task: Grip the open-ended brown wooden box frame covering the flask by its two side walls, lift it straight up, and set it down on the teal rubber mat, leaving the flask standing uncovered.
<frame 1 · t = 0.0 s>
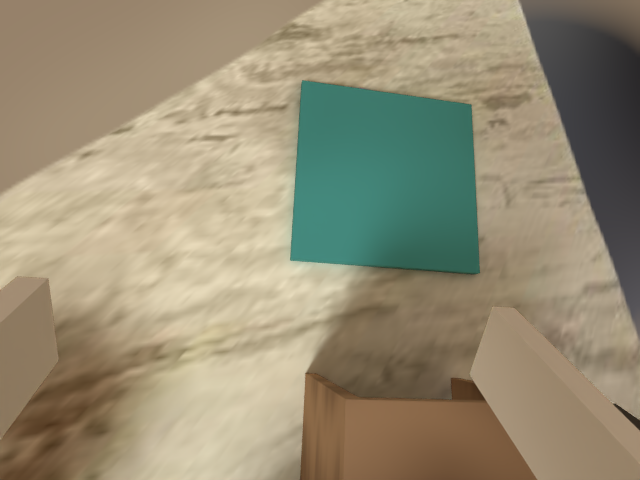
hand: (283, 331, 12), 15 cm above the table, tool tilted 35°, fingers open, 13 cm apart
mat: (386, 177, 31), on the table
brown wooden box frame: (384, 464, 26), on the table
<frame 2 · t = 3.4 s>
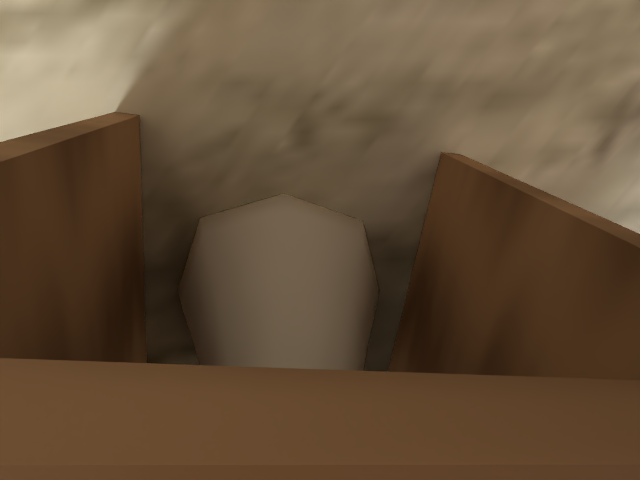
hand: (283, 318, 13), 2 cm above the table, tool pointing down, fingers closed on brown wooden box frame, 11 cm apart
flask: (281, 283, 15), on the table
brown wooden box frame: (281, 287, 15), on the table, touching gripper
when the fingers open (4 cm above the table, at t = 10.3 s): brown wooden box frame drops 1 cm, resting on mat.
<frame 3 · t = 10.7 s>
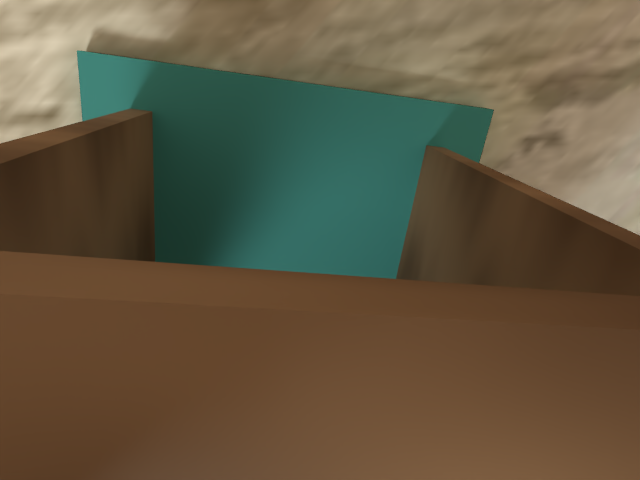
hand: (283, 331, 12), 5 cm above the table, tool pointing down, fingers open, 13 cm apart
mat: (280, 262, 17), on the table
brown wooden box frame: (280, 269, 16), point 1 cm above the table, touching mat
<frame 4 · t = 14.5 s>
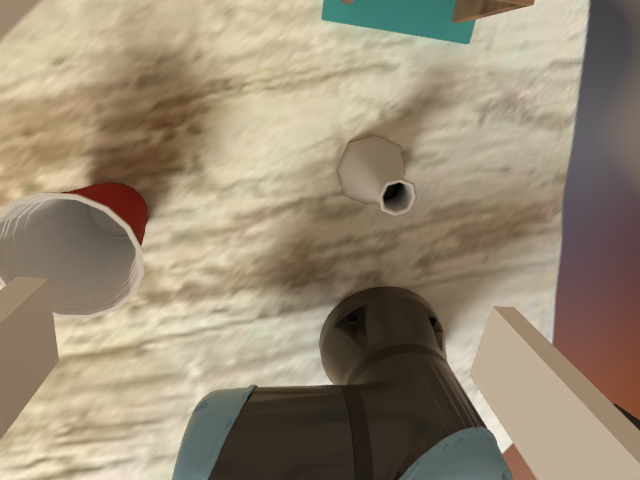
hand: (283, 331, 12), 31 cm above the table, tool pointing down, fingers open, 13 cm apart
flask: (370, 169, 43), on the table
plastic cup: (121, 210, 41), on the table
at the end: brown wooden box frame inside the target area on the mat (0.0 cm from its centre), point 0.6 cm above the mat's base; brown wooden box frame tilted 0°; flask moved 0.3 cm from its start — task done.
